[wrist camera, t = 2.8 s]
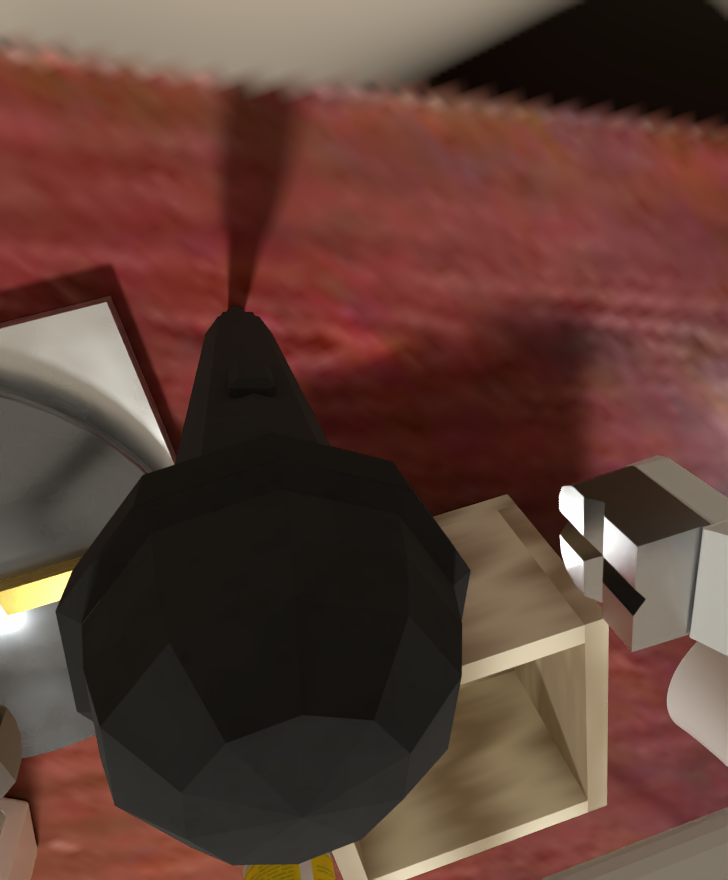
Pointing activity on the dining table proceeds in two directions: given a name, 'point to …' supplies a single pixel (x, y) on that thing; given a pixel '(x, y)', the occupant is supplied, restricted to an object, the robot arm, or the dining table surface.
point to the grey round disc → (49, 552)
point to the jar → (17, 841)
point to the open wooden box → (505, 707)
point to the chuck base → (86, 373)
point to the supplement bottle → (293, 870)
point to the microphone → (265, 625)
